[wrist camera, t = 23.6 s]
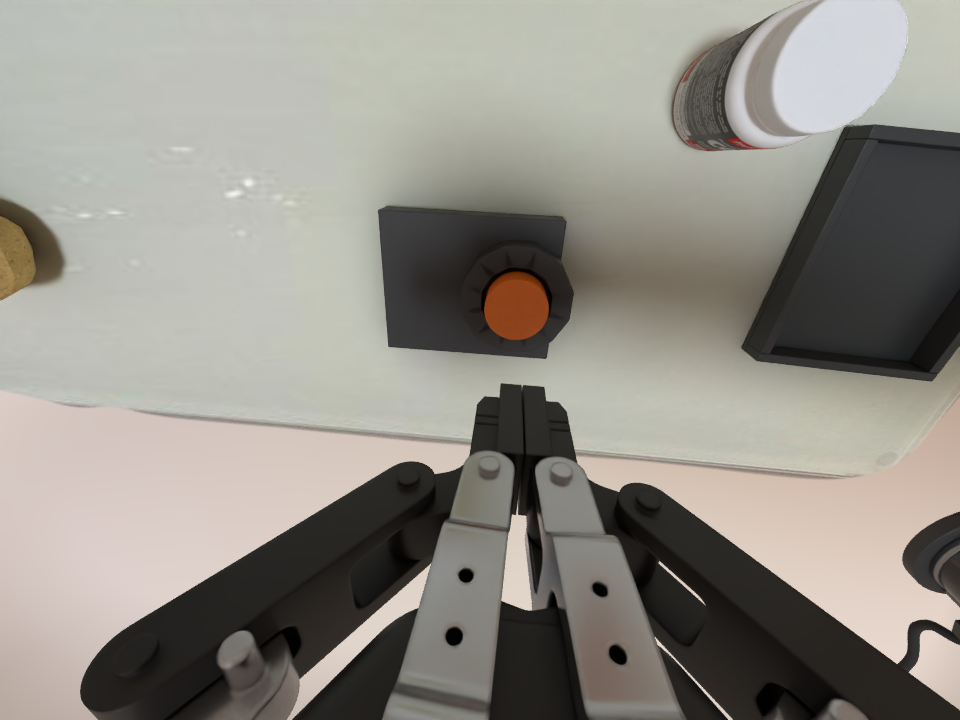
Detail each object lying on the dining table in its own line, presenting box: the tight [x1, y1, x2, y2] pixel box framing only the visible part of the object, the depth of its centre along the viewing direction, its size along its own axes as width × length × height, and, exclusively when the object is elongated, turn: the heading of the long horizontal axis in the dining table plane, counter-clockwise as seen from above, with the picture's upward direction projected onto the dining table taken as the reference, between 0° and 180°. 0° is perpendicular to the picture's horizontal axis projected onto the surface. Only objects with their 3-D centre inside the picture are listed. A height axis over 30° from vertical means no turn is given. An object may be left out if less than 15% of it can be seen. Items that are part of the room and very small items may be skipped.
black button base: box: [378, 206, 574, 359], centre depth 24 cm, size 12×9×4 cm
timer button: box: [484, 271, 549, 340], centre depth 22 cm, size 4×4×2 cm
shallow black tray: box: [742, 124, 960, 381], centre depth 22 cm, size 13×11×2 cm
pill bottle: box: [674, 0, 908, 151], centre depth 16 cm, size 5×5×8 cm
